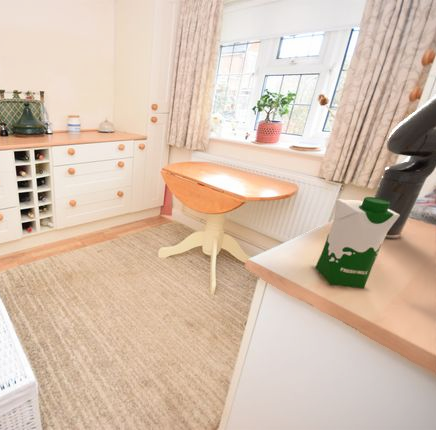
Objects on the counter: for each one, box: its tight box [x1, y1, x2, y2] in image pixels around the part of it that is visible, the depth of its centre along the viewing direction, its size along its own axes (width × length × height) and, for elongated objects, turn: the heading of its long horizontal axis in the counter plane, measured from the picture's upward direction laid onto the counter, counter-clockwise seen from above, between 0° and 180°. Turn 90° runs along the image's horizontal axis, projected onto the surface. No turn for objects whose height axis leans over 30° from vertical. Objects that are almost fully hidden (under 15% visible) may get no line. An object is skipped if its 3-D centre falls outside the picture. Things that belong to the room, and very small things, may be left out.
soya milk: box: [314, 196, 400, 289], centre depth 64 cm, size 9×9×20 cm
